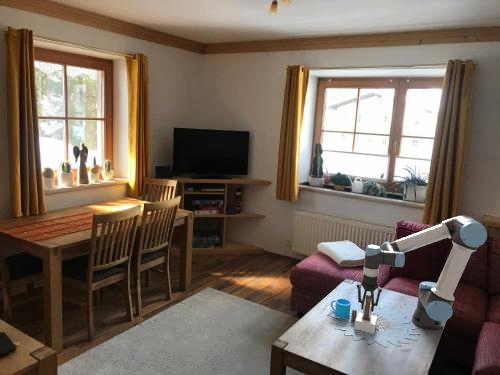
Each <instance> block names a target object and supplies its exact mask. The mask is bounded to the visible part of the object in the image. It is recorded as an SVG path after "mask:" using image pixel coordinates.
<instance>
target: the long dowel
mask: <svg viewBox="0 0 500 375" xmlns="http://www.w3.org/2000/svg"><path fill="white" fill-rule="evenodd" d="M364 303H365V313H364V320H369V310H370V304H371V294H366V298H365V302H364Z"/></svg>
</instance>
